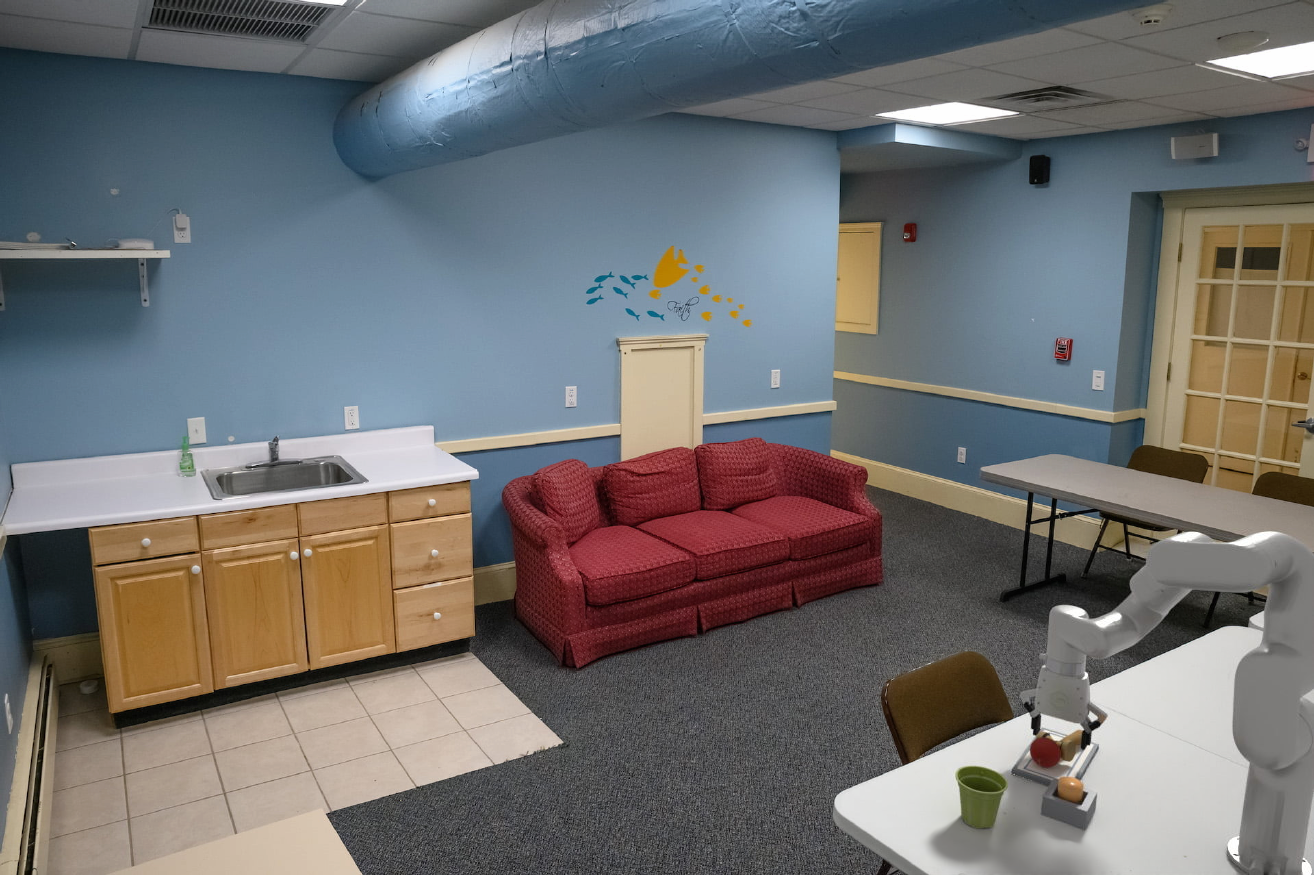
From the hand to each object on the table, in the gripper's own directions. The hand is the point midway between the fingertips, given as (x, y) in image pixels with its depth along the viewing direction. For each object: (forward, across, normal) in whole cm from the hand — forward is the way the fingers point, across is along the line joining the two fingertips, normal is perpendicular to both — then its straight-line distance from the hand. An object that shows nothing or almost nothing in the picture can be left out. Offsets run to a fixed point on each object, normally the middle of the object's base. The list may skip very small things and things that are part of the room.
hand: (1060, 740), depth 192 cm
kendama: (+4, 0, +1) cm, 4 cm away
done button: (+2, +7, -18) cm, 19 cm away
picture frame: (+5, 0, 0) cm, 5 cm away
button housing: (+5, +6, -18) cm, 20 cm away
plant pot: (+5, -6, -31) cm, 32 cm away
